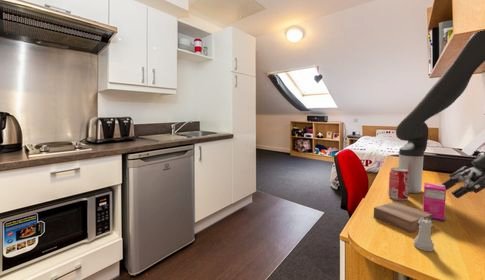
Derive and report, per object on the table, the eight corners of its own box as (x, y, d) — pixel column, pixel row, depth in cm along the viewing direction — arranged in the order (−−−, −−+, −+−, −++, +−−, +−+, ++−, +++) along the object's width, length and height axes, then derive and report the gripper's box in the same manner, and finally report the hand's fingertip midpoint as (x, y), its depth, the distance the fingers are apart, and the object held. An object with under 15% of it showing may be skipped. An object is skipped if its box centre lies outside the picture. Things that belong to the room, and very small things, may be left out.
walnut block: (394, 211, 84) (395, 201, 84) (431, 225, 73) (432, 214, 73) (373, 218, 79) (374, 207, 79) (410, 234, 69) (411, 221, 68)
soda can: (405, 202, 91) (407, 172, 90) (385, 198, 97) (387, 169, 95) (410, 198, 96) (412, 169, 95) (390, 194, 101) (392, 166, 100)
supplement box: (422, 211, 83) (424, 182, 82) (443, 215, 79) (446, 185, 78) (422, 217, 79) (424, 186, 77) (444, 222, 75) (447, 189, 74)
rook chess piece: (428, 254, 58) (430, 225, 57) (409, 245, 62) (411, 218, 61) (437, 249, 60) (440, 221, 59) (419, 241, 64) (421, 214, 63)
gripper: (474, 149, 78) (431, 178, 84) (501, 156, 65) (448, 189, 71) (493, 165, 76) (448, 193, 82) (525, 175, 63) (468, 208, 69)
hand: (448, 191), depth 76 cm, fingers open, 8 cm apart
